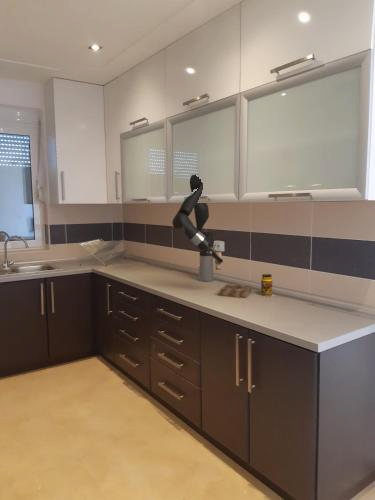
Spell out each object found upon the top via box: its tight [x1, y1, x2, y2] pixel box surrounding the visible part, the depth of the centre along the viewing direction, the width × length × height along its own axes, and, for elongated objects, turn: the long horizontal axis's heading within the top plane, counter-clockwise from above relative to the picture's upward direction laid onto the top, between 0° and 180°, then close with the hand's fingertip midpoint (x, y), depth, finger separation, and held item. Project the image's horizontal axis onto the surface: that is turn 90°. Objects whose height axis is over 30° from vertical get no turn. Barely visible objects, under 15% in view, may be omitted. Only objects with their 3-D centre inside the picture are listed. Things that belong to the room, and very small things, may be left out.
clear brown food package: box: [219, 284, 253, 299], centre depth 225 cm, size 15×14×4 cm
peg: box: [214, 251, 222, 271], centre depth 226 cm, size 4×4×10 cm
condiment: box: [258, 273, 276, 298], centre depth 223 cm, size 7×8×12 cm
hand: (221, 261), depth 226 cm, fingers closed on peg, 3 cm apart
